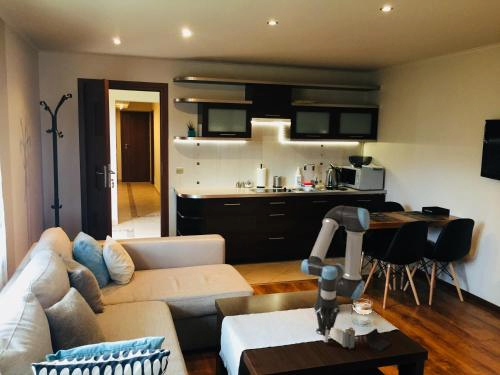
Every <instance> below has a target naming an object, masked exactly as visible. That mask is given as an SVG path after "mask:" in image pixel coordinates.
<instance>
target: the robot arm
mask: <svg viewBox="0 0 500 375" xmlns="http://www.w3.org/2000/svg"><path fill="white" fill-rule="evenodd" d="M370 218H371V217H370V212H369V211H368V209H366V208H364V207H363V208H362V207H355V206H347V205H338V206H335V207H332V209H330V210H329V211H328V212H327V213H326V214H325V216H324V218H323V219H322V227H321V229H320V231H319V233H318V236H317V239H316V241H315V243H314V246H313V247H312V250H311V253H310V256H309V257H308V259H307V258H306V259H304V260H303V261H302V262H301V265H300V270H301V272H302V273H303V274H306V275H309V276H315V277H318V279H317V280H318V282H317V285H318V286H317V296H316V299H315V301H314V304H313V309H314V313H315V315H316V321H317V325H318V328H320V329H322V335H321V336H322V341H323V342H324V343H328V342H329V336H328V335H329V334H330V330H331V328H333V327H334V325H336V321H337V317H338V314H339V313H340V305H339V299H338V297H342V298H346V299H349V300H355V301H359V300H360V299H361V297H362V294H363V293H364V289H365V281H364V280H363V277H362V275H361V274H360V270H361V269H360V268H361V259H362V258H361V257H362V245H363V237H364V236H363V235H364V234H365V233H367V230H369V228H370V223H371V219H370ZM339 226H341V227H344V228H345V229H344V231H345V233H347V234H346V248H345V259H344V260H345V261H344V265H342V264H341V263H334V264H331V263H325V262H324V260H325V258H326V255H327V252H328V250H329V247H330V244H331V243H332V239H333V237H334V234H335V233H336V230H338V229H339ZM321 313H322V319H321V315H320V314H321ZM326 327H327V328H326Z"/></svg>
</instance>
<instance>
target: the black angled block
mask: <svg viewBox="0 0 500 375" xmlns="http://www.w3.org/2000/svg"><path fill="white" fill-rule="evenodd" d="M364 337H365V338H366V340H367V342H368V345H369V348H371V349H373V350H376V351H378V352H379V353H380V352H382V351H384V350H386V349H387V348H388V347H389V346H391V344H392V343H391V342H390V341H387V340H384V338H382V337H381V334H380V332H379V330H378V329H377V328H375V329H373V330H371V331H370V332H368V333H366V334H365V335H364Z"/></svg>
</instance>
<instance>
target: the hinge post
mask: <svg viewBox="0 0 500 375" xmlns="http://www.w3.org/2000/svg"><path fill="white" fill-rule="evenodd" d="M320 315H321V319H322V313H321V314H320ZM315 332H316V334H318V335H321V336H323V335H322V329H320V328H319V327H318V328H316V331H315Z"/></svg>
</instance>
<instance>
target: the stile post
mask: <svg viewBox="0 0 500 375" xmlns="http://www.w3.org/2000/svg"><path fill="white" fill-rule="evenodd" d="M344 331H345V332H347V333H349V334H350V336H349V346H347V347H346V348H348V349H354V348H355V340H356V330H354V328H353V327H351V326H350V327H349V328H348V329H347V328H346V329H344Z"/></svg>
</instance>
